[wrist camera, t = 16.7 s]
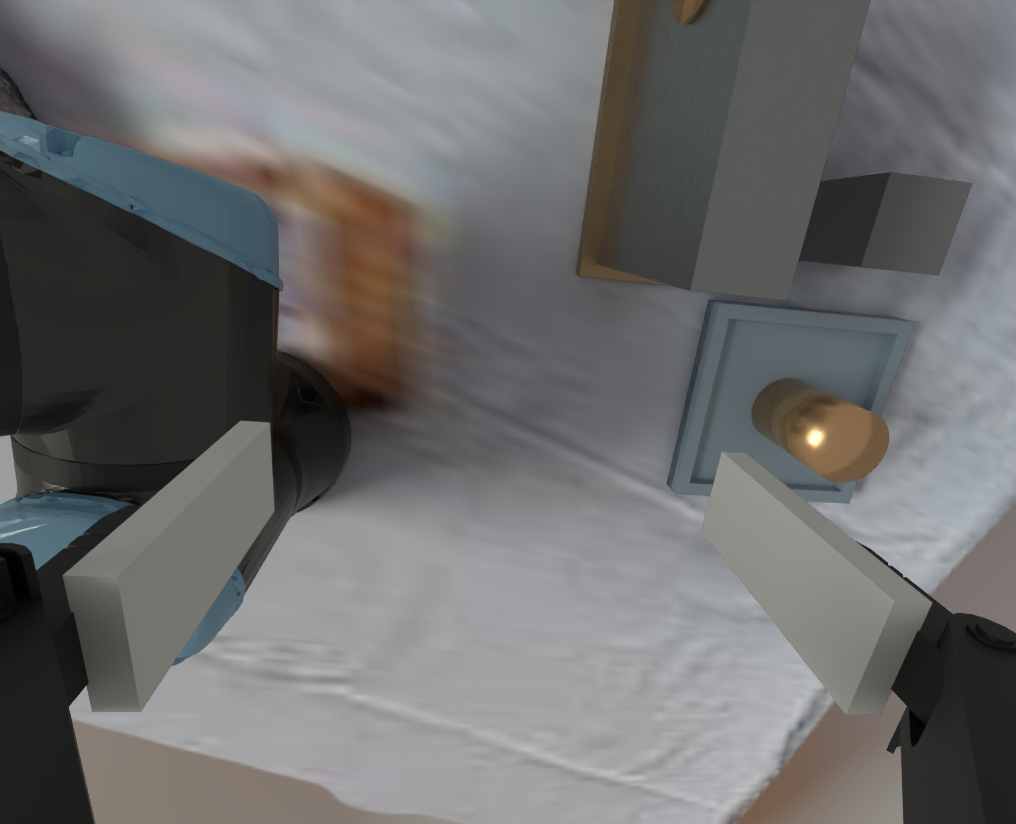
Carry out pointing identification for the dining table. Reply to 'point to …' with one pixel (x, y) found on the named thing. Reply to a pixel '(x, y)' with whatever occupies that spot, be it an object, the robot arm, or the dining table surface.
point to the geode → (12, 98)
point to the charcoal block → (885, 222)
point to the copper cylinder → (820, 429)
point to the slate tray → (767, 358)
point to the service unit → (714, 140)
